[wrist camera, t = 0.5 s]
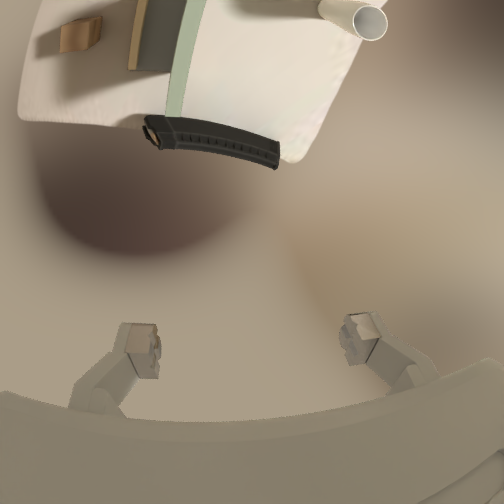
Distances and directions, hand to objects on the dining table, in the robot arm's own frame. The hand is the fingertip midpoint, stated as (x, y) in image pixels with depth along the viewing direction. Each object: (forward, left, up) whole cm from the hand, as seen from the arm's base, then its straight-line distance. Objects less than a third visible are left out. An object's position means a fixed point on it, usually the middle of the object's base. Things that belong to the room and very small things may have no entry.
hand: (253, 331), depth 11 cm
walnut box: (-18, -11, -51) cm, 55 cm away
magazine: (+18, -10, -51) cm, 55 cm away
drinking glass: (+8, +25, -51) cm, 58 cm away
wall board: (-7, -2, -51) cm, 51 cm away
